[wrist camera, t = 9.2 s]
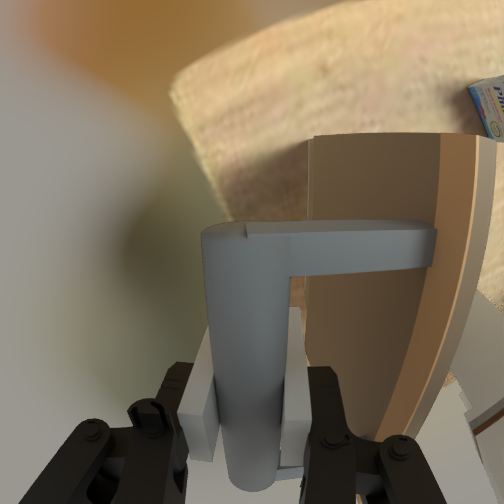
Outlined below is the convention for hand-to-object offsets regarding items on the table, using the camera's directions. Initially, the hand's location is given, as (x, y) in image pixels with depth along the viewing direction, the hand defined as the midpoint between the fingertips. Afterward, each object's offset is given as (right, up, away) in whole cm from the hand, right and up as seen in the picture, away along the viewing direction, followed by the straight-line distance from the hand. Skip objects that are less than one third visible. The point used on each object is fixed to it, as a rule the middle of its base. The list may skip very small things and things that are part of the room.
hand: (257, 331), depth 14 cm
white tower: (+30, -8, +25) cm, 40 cm away
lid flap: (+6, +1, +2) cm, 6 cm away
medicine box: (+31, +22, +14) cm, 41 cm away
